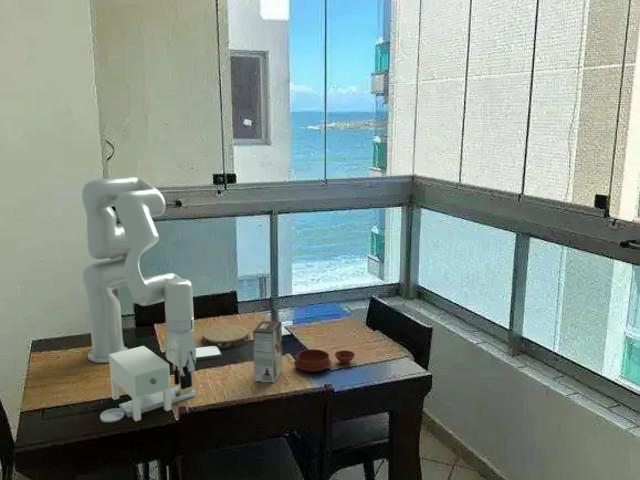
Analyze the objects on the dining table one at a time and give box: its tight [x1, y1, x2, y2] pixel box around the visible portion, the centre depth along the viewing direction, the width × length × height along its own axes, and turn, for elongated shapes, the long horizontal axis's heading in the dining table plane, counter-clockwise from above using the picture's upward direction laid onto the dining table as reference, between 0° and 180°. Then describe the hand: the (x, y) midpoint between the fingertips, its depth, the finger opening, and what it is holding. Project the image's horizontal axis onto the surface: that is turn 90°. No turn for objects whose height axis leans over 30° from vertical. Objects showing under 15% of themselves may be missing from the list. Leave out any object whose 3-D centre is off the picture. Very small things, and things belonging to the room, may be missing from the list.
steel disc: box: [99, 407, 126, 424], centre depth 154 cm, size 6×6×1 cm
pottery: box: [293, 348, 356, 373], centre depth 185 cm, size 12×20×4 cm, turn 112°
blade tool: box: [118, 367, 197, 418], centre depth 161 cm, size 6×20×10 cm, turn 129°
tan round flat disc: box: [202, 324, 249, 350], centre depth 207 cm, size 16×16×3 cm
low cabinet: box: [108, 345, 173, 422], centre depth 159 cm, size 18×10×13 cm, turn 39°
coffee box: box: [252, 320, 283, 384], centre depth 177 cm, size 9×6×16 cm
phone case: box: [195, 346, 223, 362], centre depth 193 cm, size 9×2×16 cm
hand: (183, 384), depth 166 cm, fingers closed on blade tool, 3 cm apart
